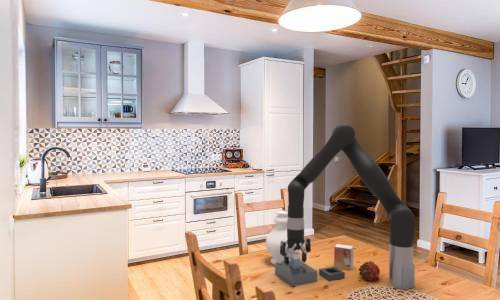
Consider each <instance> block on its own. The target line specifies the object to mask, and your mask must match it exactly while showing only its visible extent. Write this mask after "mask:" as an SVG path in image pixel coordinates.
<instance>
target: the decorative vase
mask: <svg viewBox="0 0 500 300" xmlns="http://www.w3.org/2000/svg"><path fill="white" fill-rule="evenodd" d="M275 214H276V216H275V217H274V219H273V221H274V223H275V224H276V226H275V227H274V228H273V229H272V230H270V232H269V234H268V235H267V237H266V238H265V248H266V250H267V252H268V253H269V254H270V256H271V257H272V258H271V259H270V263H271V264H272V265H274V266H275V263H277V262H283V261H284V256H282V255H281V254H280V244H281V241H283V242H285V241H287V219H288V210H287V209H285V210H284V209H283V210H282V209H280V210H276V212H275ZM287 246H288V245H286V247H285V251H286V248H287ZM289 250H290V249H289ZM300 251H301V250H295V251H292V252H298V253H300ZM288 257H289V260H291V253H290V255H289V256H288Z"/></svg>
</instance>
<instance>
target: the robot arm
mask: <svg viewBox="0 0 500 300" xmlns="http://www.w3.org/2000/svg"><path fill="white" fill-rule="evenodd" d="M358 141H359V140H357V138H356V131H355V128H354V127H353V126H352V125H351V124H349V123H340V124H338V125H337V126H336V127H335V128H334V129H333V130H332V132H331V136H330V138H329V139H328V141H327V142H326V143H325V144H324V146H323V147H322V148H321V149H320V150H319V151H318V152H317V153H316V154H315V155H314V156H313V157H312V158H311V159H310V160H309V162H308V163H307V164H306V165H305V166H304V167H303V168H302V170H301V171H300V172H299V173H298V174H297V175H296V176H295V177H294V178H293V179H292V180H291V181H290V182H289V184H288V186H287V195H288V202H287V203H288V205H287V211H288V219H287V241H285V242H283V241H281V244H280V254H281V255H282V256H284V263H285V264H286V265H289V257H288V256H289V255H290V253H292V251H295V250H300V251H301V261H302V262H303V263H306V262H307V259H308V257H307V256H308V255H307V254H308V253H311V251H312V249H311V239H310V238H309V237H305V218H304V216H305V214H304V213H305V209H304V205H305V190H306V189H307V187H308V186H309V185H311V184H312V183H314V182H315V180H316V179H317V178H318V177H319V176H320V175H321V174H322V173H323V171H324V170H325V169H326V167H327V166H329V164H330V163H331V161H332V160H333V159H334V158H335V157H336V156H337V155H338V154H339V152H341V151H342V152H343V153H344V154H345V156H346V157H347V158H348V160H349V162H350V163H351V165H352V166H353V169H354V170H355V172H356V173H357V175H358V176H359V178H360V180H361V181H362V182H363V184H364V185H365V187H366V188H367V189H368V190H369V191H370V193H371V194H372V195H373V196H374V197H375V198H377V199H378V201H379V202H380V203H381V205H382V207H383V209H384V210H385V212H386V214H387V215H388V217H389V220H390V236H389V244H388V245H389V246H388V247H389V251H388V254H389V255H388V283H389V284H390V285H391V286H393V287H394V288H398V289H401V290H408V289H412V288H413V289H414V288H415V282H416V281H415V276H416V275H415V274H416V273H415V272H416V266H415V264H414V241H415V233H416V231H415V230H416V217H415V214H414V212H413V211H412V210H411V209H410V208H409V207H408V206H407V205H406V204H405V202H403V200H401V198H400V197H399V196H398V194H397V193H396V192H395V190H394V188H393V187H392V184H391V183H390V180H389V179H388V177H387V175H386V174H385V172H384V171H383V169H382V168H381V167H380V165H379V164H378V163H377V162H376V161H375V160H374V159H373V157H372V156H370V154H369V153H368V152H367V151H365V149H363V147H362V146H361V144H360V143H359V142H358ZM304 244H305V245H304ZM286 245H288V246H287V248H286V251H285V247H286ZM289 249H290V250H289Z"/></svg>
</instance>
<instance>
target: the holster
mask: <svg viewBox="0 0 500 300" xmlns="http://www.w3.org/2000/svg"><path fill="white" fill-rule="evenodd" d="M318 275H319V276H320V277H322V278H324V279H326V280H327V281H328V282H331V281H332V282H333V281H338V280H342V279H343V280H344V279H345V277H346V272H345V271H343V270H341V269H340V268H336V267H334V265H332V266H329V267H328V266H327V267H322V268H319V269H318Z"/></svg>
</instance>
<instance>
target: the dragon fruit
mask: <svg viewBox="0 0 500 300" xmlns="http://www.w3.org/2000/svg"><path fill="white" fill-rule="evenodd" d="M358 271H359V273H358V274H359V276H361V277H362V278H363V279H364V280H367V281H378V279H379V275H380V272H381V270H380V267H379V266H378V265H377V264H376V263H375V262H374V261H371V260H370V261H366V262H364V263H363V264H362V265H360V266H359V267H358Z"/></svg>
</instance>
